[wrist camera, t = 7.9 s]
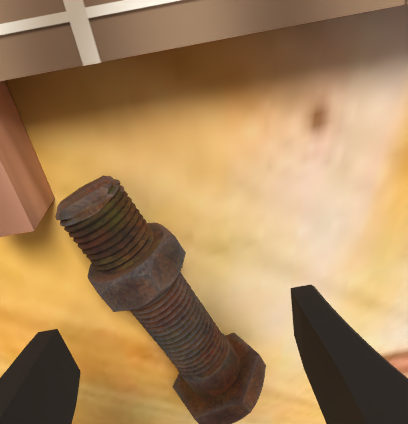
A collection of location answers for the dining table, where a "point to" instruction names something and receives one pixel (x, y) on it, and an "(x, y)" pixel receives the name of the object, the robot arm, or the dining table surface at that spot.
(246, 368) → the bolt
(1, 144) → the walnut fence
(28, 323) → the dining table surface
